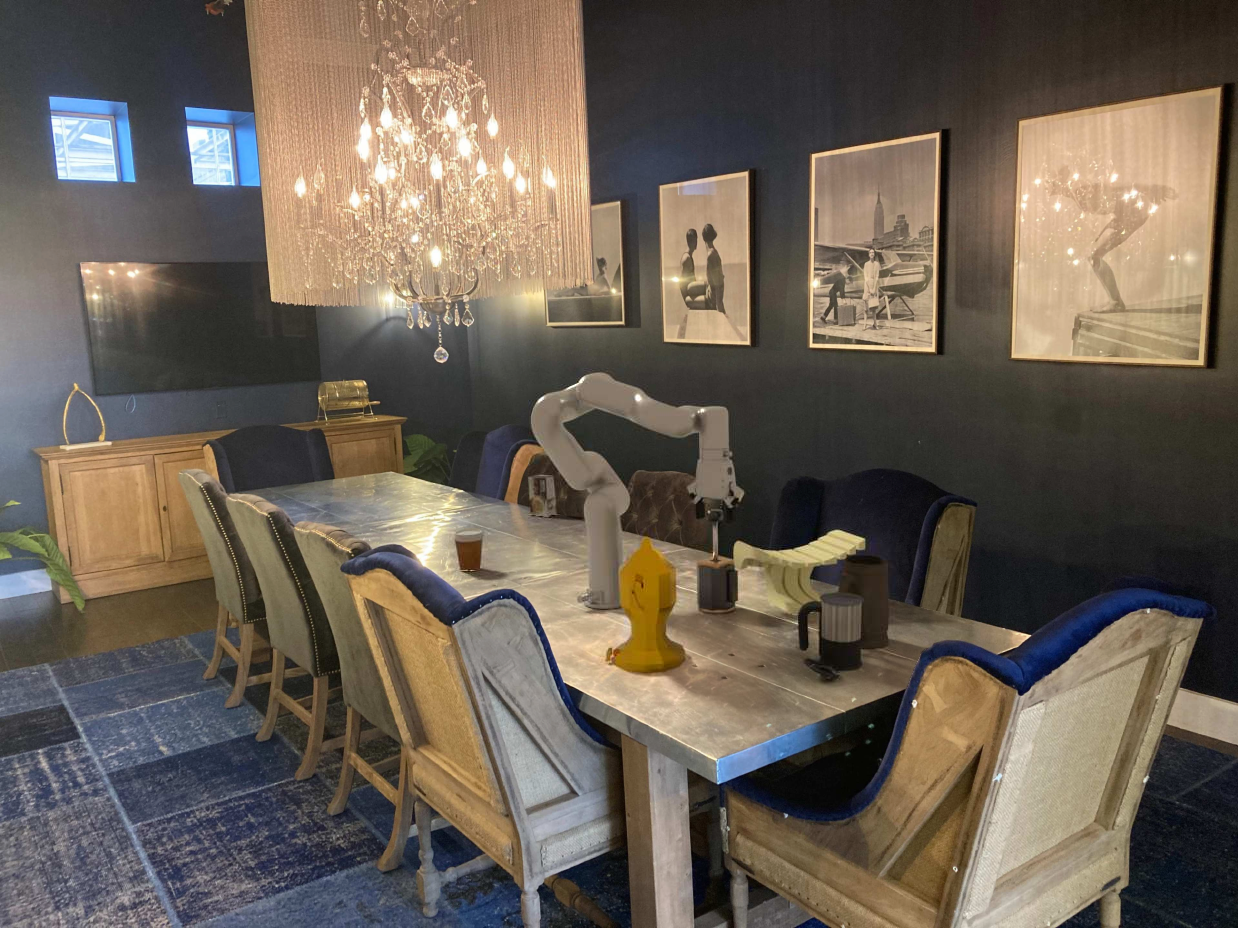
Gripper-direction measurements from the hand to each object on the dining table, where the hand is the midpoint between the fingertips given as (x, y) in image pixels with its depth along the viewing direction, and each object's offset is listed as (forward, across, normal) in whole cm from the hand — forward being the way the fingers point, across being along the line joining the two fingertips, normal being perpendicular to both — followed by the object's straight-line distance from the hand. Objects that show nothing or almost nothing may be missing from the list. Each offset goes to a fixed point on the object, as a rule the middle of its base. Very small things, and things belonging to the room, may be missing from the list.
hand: (715, 520), depth 249 cm
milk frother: (+24, -46, +21) cm, 56 cm away
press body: (+24, 0, 0) cm, 24 cm away
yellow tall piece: (+24, -10, +41) cm, 49 cm away
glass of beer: (+23, +87, +11) cm, 91 cm away
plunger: (+13, 0, 0) cm, 13 cm away
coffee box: (+23, +132, -64) cm, 149 cm away
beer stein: (+24, -43, +3) cm, 49 cm away
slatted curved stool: (+24, -15, -16) cm, 33 cm away
